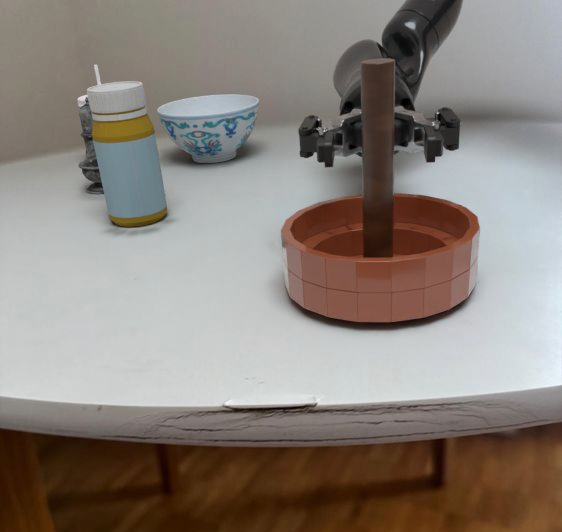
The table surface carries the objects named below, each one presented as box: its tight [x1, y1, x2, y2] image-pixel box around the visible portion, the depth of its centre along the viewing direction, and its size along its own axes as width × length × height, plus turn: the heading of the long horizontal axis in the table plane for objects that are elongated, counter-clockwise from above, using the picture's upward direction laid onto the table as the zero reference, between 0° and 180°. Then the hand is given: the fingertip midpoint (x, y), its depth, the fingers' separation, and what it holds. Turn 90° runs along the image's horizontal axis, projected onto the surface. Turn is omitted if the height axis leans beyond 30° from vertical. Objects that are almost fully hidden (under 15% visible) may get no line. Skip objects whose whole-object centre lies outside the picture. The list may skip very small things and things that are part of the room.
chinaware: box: [156, 93, 260, 164], centre depth 104 cm, size 15×15×8 cm
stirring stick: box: [361, 58, 395, 258], centre depth 57 cm, size 5×5×18 cm
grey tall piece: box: [78, 97, 104, 195], centre depth 93 cm, size 6×6×12 cm
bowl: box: [280, 192, 481, 323], centre depth 61 cm, size 17×17×6 cm
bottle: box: [86, 80, 168, 228], centre depth 80 cm, size 7×7×15 cm
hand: (379, 153), depth 58 cm, fingers open, 8 cm apart
